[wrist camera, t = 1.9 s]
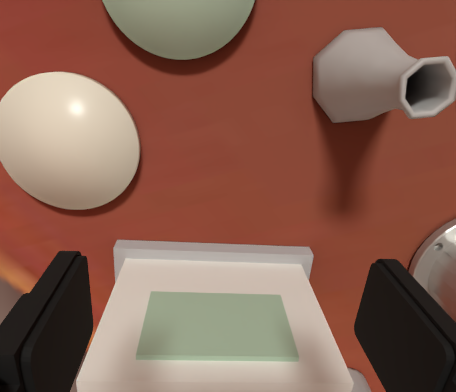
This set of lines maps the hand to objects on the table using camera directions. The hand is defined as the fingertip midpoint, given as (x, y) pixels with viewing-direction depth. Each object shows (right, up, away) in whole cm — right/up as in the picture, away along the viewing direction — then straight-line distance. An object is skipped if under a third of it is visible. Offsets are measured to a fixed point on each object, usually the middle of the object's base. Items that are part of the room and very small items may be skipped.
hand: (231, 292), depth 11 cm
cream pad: (-13, +7, +17) cm, 22 cm away
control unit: (-2, -5, +23) cm, 23 cm away
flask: (+10, +13, +16) cm, 23 cm away
